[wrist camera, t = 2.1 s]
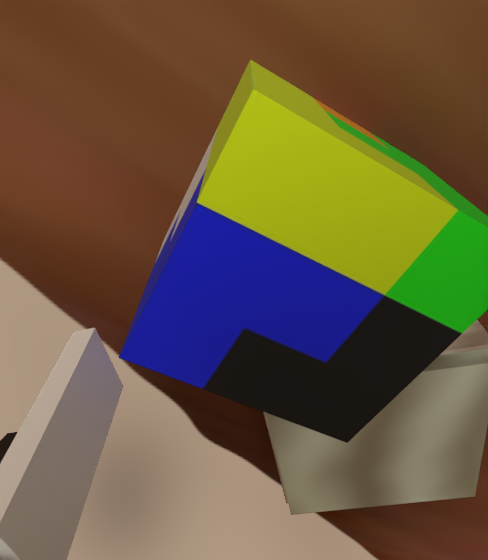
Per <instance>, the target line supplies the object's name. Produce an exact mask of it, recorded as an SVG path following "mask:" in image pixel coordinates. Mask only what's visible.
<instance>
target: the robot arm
mask: <svg viewBox="0 0 488 560" xmlns="http://www.w3.org/2000/svg"><path fill="white" fill-rule="evenodd" d="M122 388H123V385H122V383H121V381H120V379H119V377H118V375H117V373H116V370H115V368H114V366H113V364H112V362H111V360H110V358H109V356H108V354H107V352H106V350H105V348H104V345H103V343H102V341H101V339H100V337H99V335H98V333H97V331H96V329H95V328H91V329H85V330H79V331H74V332H73V333H72V335H71V337H70V339H69V341H68V342H67V344H66V346H65V348H64V350H63V352H62V354H61V355H60V357H59V359H58V361H57V362H56V364H55V366H54V368H53V370H52V371H51V373H50V375H49V377H48V379H47V380H46V382H45V384H44V386H43V388H42V389H41V391H40V393H39V395H38V397H37V398H36V400H35V402H34V404H33V406H32V407H31V409H30V411H29V413H28V415H27V416H26V418H25V420H24V422H23V424H22V425H21V427H20V429H19V431H18V432H14V433H8V434H6V436H5V437H4V438H3V439H2V440H1V441H0V560H66V559H67V556H68V553H69V550H70V547H71V544H72V541H73V538H74V535H75V532H76V529H77V526H78V523H79V520H80V516H81V513H82V510H83V507H84V504H85V501H86V498H87V495H88V492H89V489H90V486H91V482H92V479H93V477H94V474H95V470H96V467H97V464H98V461H99V458H100V455H101V452H102V449H103V446H104V443H105V440H106V437H107V434H108V431H109V428H110V424H111V422H112V418H113V415H114V412H115V409H116V406H117V403H118V400H119V397H120V394H121V391H122Z"/></svg>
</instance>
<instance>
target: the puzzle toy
mask: <svg viewBox="0 0 488 560" xmlns="http://www.w3.org/2000/svg"><path fill="white" fill-rule="evenodd" d="M487 310H488V216H487V215H485V214H484V213H483V212H482V211H480V210H479V209H478V208H477V207H475V206H474V205H473V204H472V203H470V202H469V201H468V200H467V199H465V198H464V197H463V196H462V195H460V194H459V193H458V192H457V191H455V190H454V189H453V188H452V187H450V186H449V185H448V184H447V183H445V182H444V181H443V180H442V179H440V178H439V177H438V176H437V175H435V174H434V173H433V172H432V171H430V170H429V169H428V168H427V167H425V166H424V165H423V164H421V163H419V162H418V161H416V160H414V159H413V158H411V157H410V156H408V155H406V154H405V153H403V152H401V151H400V150H398V149H396V148H395V147H393V146H392V145H390V144H388V143H387V142H385V141H383V140H382V139H380V138H378V137H377V136H375V135H373V134H372V133H370V132H369V131H367V130H365V129H364V128H362V127H360V126H359V125H357V124H355V123H354V122H352V121H351V120H349V119H347V118H346V117H344V116H342V115H341V114H339V113H337V112H336V111H334V110H332V109H331V108H329V107H328V106H326V105H324V104H323V103H321V102H319V101H318V100H316V99H314V98H313V97H311V96H309V95H308V94H306V93H305V92H303V91H301V90H300V89H298V88H296V87H295V86H293V85H291V84H290V83H288V82H287V81H285V80H283V79H282V78H280V77H278V76H277V75H275V74H273V73H272V72H270V71H268V70H267V69H265V68H264V67H262V66H260V65H259V64H257V63H255V62H254V61H252V60H250V61H249V63H248V65H247V68H246V70H245V72H244V74H243V76H242V78H241V80H240V82H239V84H238V86H237V88H236V90H235V93H234V95H233V97H232V99H231V101H230V103H229V105H228V107H227V109H226V111H225V113H224V115H223V117H222V120H221V122H220V124H219V126H218V128H217V130H216V132H215V134H214V136H213V138H212V140H211V142H210V145H209V147H208V149H207V151H206V153H205V155H204V157H203V159H202V161H201V163H200V165H199V167H198V170H197V172H196V174H195V176H194V178H193V180H192V182H191V184H190V186H189V188H188V190H187V192H186V194H185V197H184V199H183V201H182V203H181V205H180V207H179V209H178V211H177V213H176V215H175V217H174V219H173V222H172V224H171V226H170V228H169V230H168V232H167V234H166V236H165V238H164V241H163V244H162V246H161V249H160V251H159V254H158V257H157V259H156V262H155V265H154V267H153V270H152V272H151V275H150V278H149V280H148V283H147V285H146V288H145V291H144V293H143V296H142V298H141V301H140V304H139V306H138V309H137V311H136V314H135V317H134V319H133V322H132V325H131V327H130V330H129V332H128V335H127V338H126V340H125V343H124V345H123V348H122V351H121V353H120V356H119V358H121V359H124V360H126V361H129V362H132V363H134V364H137V365H140V366H142V367H145V368H148V369H150V370H153V371H156V372H159V373H161V374H164V375H167V376H169V377H172V378H175V379H177V380H180V381H183V382H185V383H188V384H191V385H193V386H196V387H199V388H201V389H204V390H207V391H209V392H212V393H215V394H217V395H220V396H223V397H225V398H228V399H231V400H233V401H236V402H239V403H241V404H244V405H247V406H250V407H252V408H255V409H258V410H260V411H263V412H266V413H268V414H271V415H274V416H276V417H279V418H282V419H284V420H287V421H290V422H292V423H295V424H298V425H300V426H303V427H306V428H308V429H311V430H314V431H316V432H319V433H322V434H324V435H327V436H330V437H332V438H335V439H338V440H341V441H343V442H346V443H348V442H349V441H350V440H351V439H352V438H353V437H354V436H355V435H356V434H357V433H358V432H359V431H360V430H361V429H363V428H364V427H365V426H366V425H367V424H368V423H369V422H370V421H371V420H372V419H373V418H374V417H375V416H376V415H377V414H378V413H379V412H380V411H381V410H382V409H384V408H385V407H386V406H387V405H388V404H389V403H390V402H391V401H392V400H393V399H394V398H395V397H396V396H397V395H398V394H399V393H400V392H401V391H402V390H404V389H405V388H406V387H407V386H408V385H409V384H410V383H411V382H412V381H413V380H414V379H415V378H416V377H417V376H418V375H419V374H420V373H421V372H422V371H423V370H425V369H426V368H427V367H428V366H429V365H430V364H431V363H432V362H433V361H434V360H435V359H436V358H437V357H438V356H439V355H440V354H441V353H442V352H443V351H444V350H446V349H447V348H448V347H449V346H450V345H451V344H452V343H453V342H454V341H455V340H456V339H457V338H458V337H459V336H460V335H461V334H462V333H463V332H464V331H466V330H467V329H468V328H469V327H470V326H471V325H472V324H473V323H474V322H475V321H476V320H477V319H478V318H479V317H480V316H481V315H482V314H483V313H484V312H485V311H487Z"/></svg>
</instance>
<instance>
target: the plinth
mask: <svg viewBox="0 0 488 560" xmlns="http://www.w3.org/2000/svg"><path fill="white" fill-rule="evenodd" d="M264 416H265V420H266V424H267V428H268V432H269V436H270V440H271V444H272V448H273V452H274V456H275V460H276V464H277V468H278V472H279V476H280V480H281V484H282V488H283V492H284V495H285V499H286V503H289V507H290V511H291V514H303V513H313V512H323V511H333V510H343V509H354V508H364V507H374V506H384V505H394V504H404V503H414V502H424V501H434V500H444V499H454V498H464V497H475V493H476V488H477V482H478V476H479V471H480V465H481V460H482V454H483V448H484V443H485V437H486V431H487V426H488V333H487V332H486V330H485V329H484V328H483V326H482V325H481V324H480V323H479V321H478V320H476V321H475V322H474V323H473V324H472V325H471V326H470V327H469V328H468V329H467V330H466V331H464V332H463V333H462V334H461V335H460V336H459V337H458V338H457V339H456V340H455V341H454V342H453V343H452V344H451V345H450V346H449V347H448V348H447V349H446V350H444V351H443V352H442V353H441V354H440V355H439V356H438V357H437V358H436V359H435V360H434V361H433V362H432V363H431V364H430V365H429V366H428V367H427V368H426V369H425V370H423V371H422V372H421V373H420V374H419V375H418V376H417V377H416V378H415V379H414V380H413V381H412V382H411V383H410V384H409V385H408V386H407V387H406V388H405V389H404V390H402V391H401V392H400V393H399V394H398V395H397V396H396V397H395V398H394V399H393V400H392V401H391V402H390V403H389V404H388V405H387V406H386V407H385V408H384V409H382V410H381V411H380V412H379V413H378V414H377V415H376V416H375V417H374V418H373V419H372V420H371V421H370V422H369V423H368V424H367V425H366V426H365V427H364V428H363V429H361V430H360V431H359V432H358V433H357V434H356V435H355V436H354V437H353V438H352V439H351V440H350V441H349V442H348V443H346V442H343V441H341V440H338V439H335V438H332V437H330V436H327V435H324V434H322V433H319V432H316V431H314V430H311V429H308V428H306V427H303V426H300V425H298V424H295V423H292V422H290V421H287V420H284V419H282V418H279V417H276V416H274V415H271V414H268V413H266V412H264Z"/></svg>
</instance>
